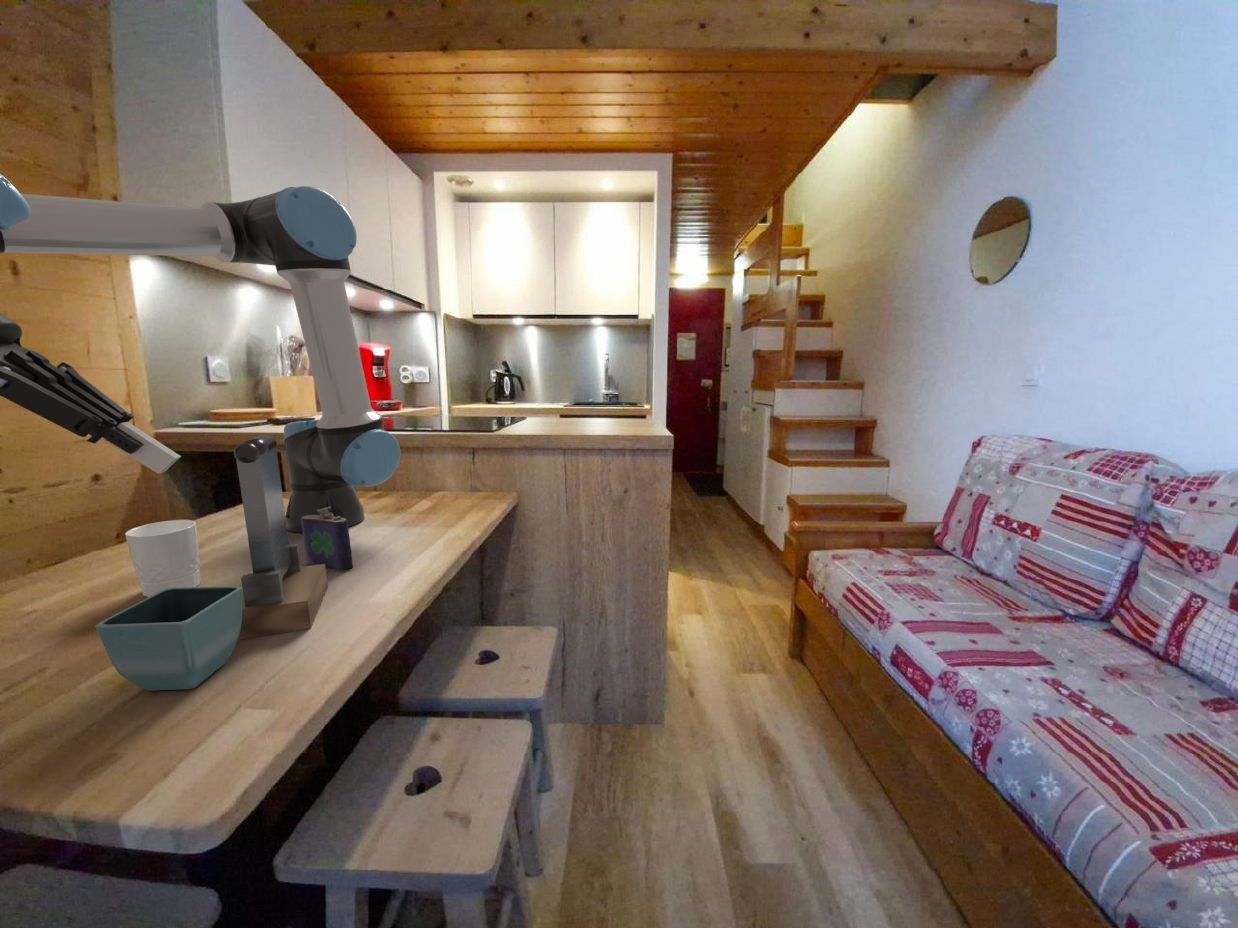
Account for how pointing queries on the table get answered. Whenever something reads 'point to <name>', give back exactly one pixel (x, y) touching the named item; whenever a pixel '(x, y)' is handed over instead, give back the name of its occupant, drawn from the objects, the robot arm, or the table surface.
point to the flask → (327, 540)
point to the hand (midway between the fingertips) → (170, 465)
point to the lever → (263, 504)
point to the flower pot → (174, 636)
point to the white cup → (165, 555)
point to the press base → (282, 598)
